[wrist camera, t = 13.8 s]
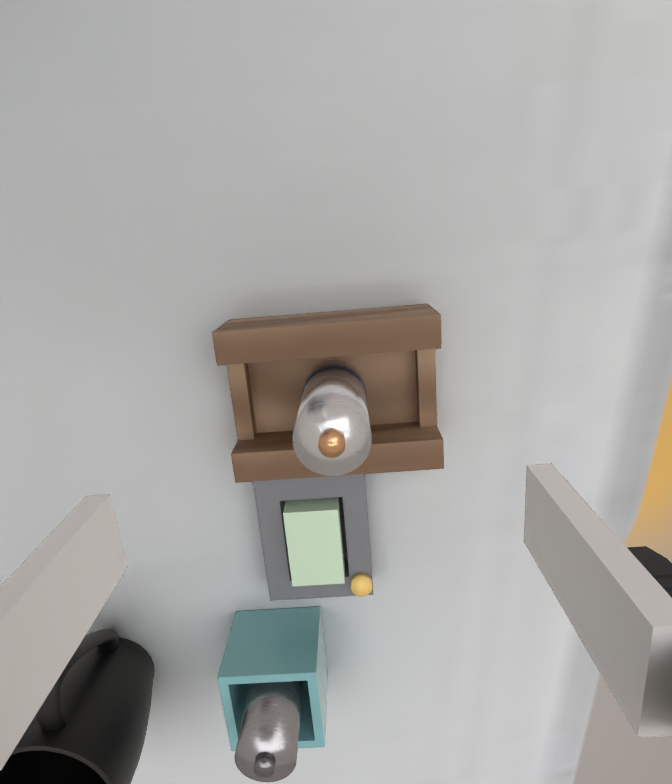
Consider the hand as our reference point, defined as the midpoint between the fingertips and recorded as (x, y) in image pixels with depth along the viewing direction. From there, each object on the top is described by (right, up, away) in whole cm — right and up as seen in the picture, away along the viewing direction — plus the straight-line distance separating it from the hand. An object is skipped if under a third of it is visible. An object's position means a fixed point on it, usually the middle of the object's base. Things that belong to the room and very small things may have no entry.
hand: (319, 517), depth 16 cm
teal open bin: (-3, -15, +22) cm, 27 cm away
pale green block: (-1, -5, +18) cm, 18 cm away
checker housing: (-1, -5, +19) cm, 19 cm away
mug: (-16, -15, +22) cm, 31 cm away
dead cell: (-3, -15, +21) cm, 26 cm away
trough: (0, +5, +16) cm, 16 cm away
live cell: (0, +4, +15) cm, 15 cm away
